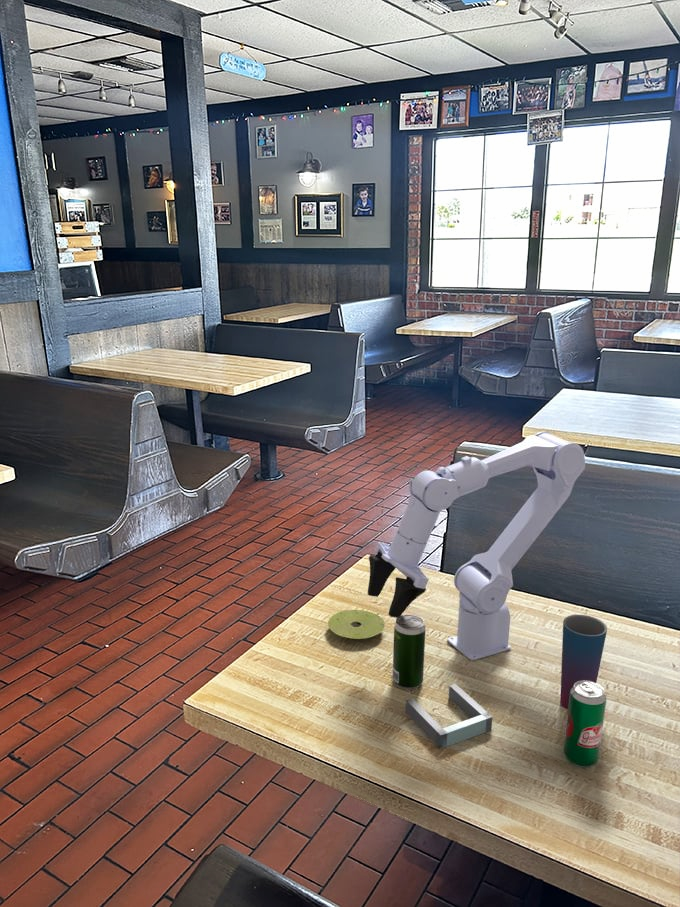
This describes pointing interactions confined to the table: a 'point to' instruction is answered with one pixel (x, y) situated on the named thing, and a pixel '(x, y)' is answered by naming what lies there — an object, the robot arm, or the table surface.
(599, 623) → the cup
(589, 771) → the table surface
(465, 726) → the dock
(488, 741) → the table surface
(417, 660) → the beer can
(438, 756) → the table surface
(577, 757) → the soda can
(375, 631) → the green disc with hole
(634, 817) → the table surface
